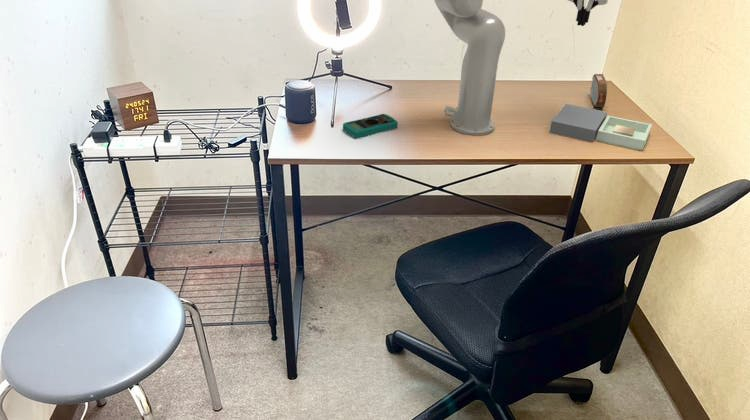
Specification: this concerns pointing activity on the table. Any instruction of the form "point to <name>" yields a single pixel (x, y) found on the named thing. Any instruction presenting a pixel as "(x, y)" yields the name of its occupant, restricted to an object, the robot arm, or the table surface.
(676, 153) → the table surface
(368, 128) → the digital multimeter
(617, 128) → the block
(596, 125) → the plate
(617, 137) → the box
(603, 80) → the tin
